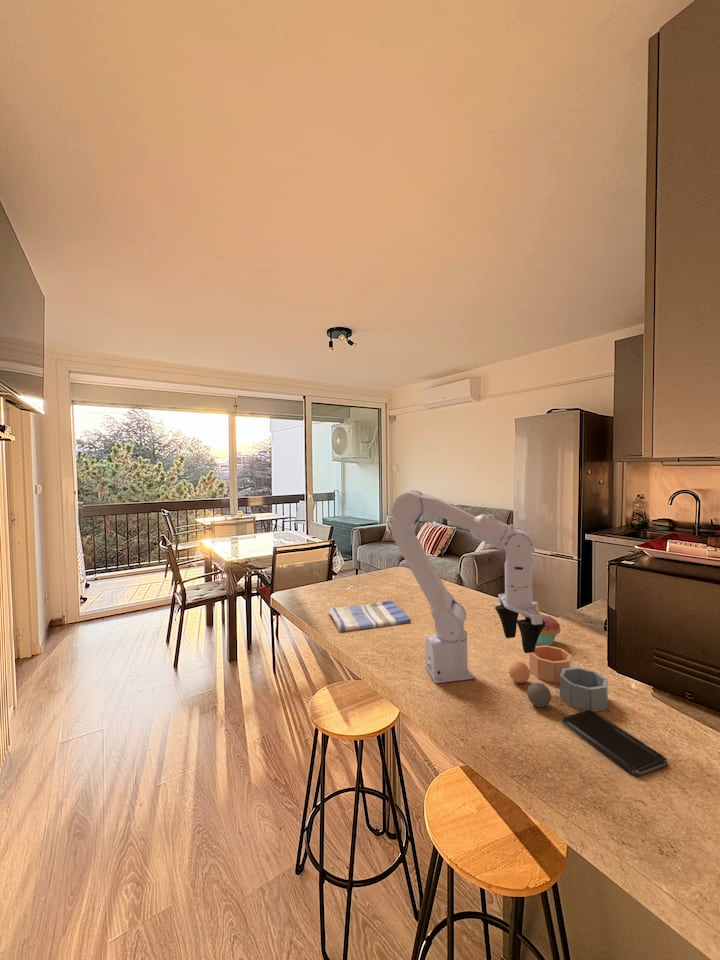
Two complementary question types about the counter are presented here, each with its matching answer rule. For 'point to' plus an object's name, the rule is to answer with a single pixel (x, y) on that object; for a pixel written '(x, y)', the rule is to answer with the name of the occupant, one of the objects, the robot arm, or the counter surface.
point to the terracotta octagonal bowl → (549, 662)
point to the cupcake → (548, 630)
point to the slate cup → (584, 689)
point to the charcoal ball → (539, 694)
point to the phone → (615, 743)
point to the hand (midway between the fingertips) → (519, 644)
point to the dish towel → (368, 616)
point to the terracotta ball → (519, 672)
